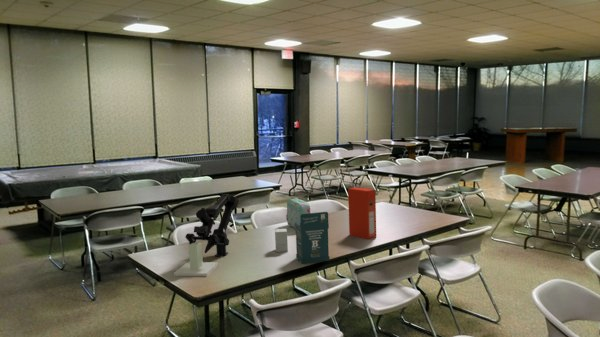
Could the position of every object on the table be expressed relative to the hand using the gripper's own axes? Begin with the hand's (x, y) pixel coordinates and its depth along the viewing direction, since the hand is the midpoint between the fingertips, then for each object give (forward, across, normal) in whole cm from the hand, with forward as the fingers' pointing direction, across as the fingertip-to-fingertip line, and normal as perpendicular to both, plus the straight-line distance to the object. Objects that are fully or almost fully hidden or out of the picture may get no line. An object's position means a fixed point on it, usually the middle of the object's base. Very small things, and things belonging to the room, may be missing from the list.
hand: (197, 252), depth 244 cm
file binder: (-52, +75, +67) cm, 113 cm away
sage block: (+7, 0, +4) cm, 8 cm away
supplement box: (-23, +33, +37) cm, 54 cm away
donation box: (-15, +55, +29) cm, 64 cm away
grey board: (+8, 0, +5) cm, 10 cm away
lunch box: (-63, +25, +78) cm, 103 cm away
